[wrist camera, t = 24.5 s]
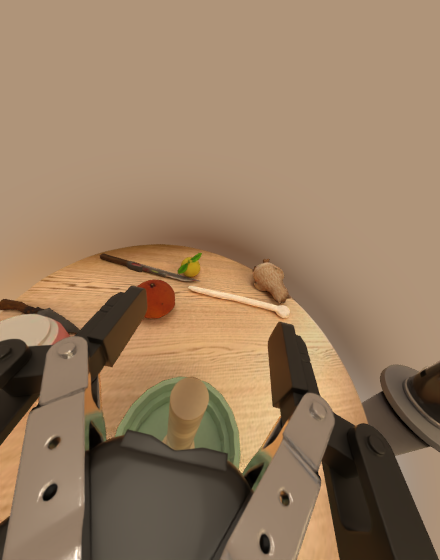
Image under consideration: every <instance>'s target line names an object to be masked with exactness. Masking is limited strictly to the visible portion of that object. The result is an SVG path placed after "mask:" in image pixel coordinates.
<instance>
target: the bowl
mask: <svg viewBox="0 0 440 560" xmlns="http://www.w3.org/2000/svg"><path fill="white" fill-rule="evenodd" d="M184 378H187V377H176V378H172V379H168V380H164V381H162V382H160V383H158V384H157V385H155V386H153V387H151V388H150V389H148V390H147V391H146V392H145V393H144V394H143V395H142V396H140V397H139V398H138V399H137V400H136V401H135V402H134V403H133V404H132V406H131V407H130V409H129V410H128V412H127V413H126V415H125V417H124V418H123V420H122V421H121V423H120V425H119V427H118V429H117V432H116V435H115V437H117V436H122V435H125V433H126V431H127V429H129V430H133V431H137V432H141V433H145V434H150V435H153V436H154V437H156V438H157V439H159V440H160V441H163V439H164V438H165V436H166V435H167V431H168V417H169V404H170V395H171V391H172V389H173V387H174V386H175V385H176V384H177V383H178V382H179V381H180V380H182V379H184ZM201 381H202V380H201ZM202 382H203V383H204V384H205V386H206V387H207V390H208V393H209V402H208V405H207V408H206V411H205V413H204V415H203V418H202V420H201V423H200V425H199V428H198V430H197V433H196V435H195V437H194V445H195V448H202V447H203V448H208V449H212V450H216V451H220V452H224V453H228V458H227V460H228V461H230V462H231V463H232V464H233V465H234V466H236V467H237V469H238V470H239V463H240V442H239V430H238V427H237V424H236V421H235V418H234V415H233V412H232V410H231V408H230V407H229V405H228V403H227V402H226V400H225V399H224V397H223V396H222V394H220V393H219V392H218V391H217V390H216V389H215V388H214V387H212V386H211V385H210V384H209V383H206V382H204V381H202Z"/></svg>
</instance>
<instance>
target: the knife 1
mask: <svg viewBox="0 0 440 560" xmlns="http://www.w3.org/2000/svg"><path fill="white" fill-rule="evenodd" d="M6 309H16V310H19V311H21V312H24V313H25V314H37V315H41V316H44V317H48V318H51V319H53V320H56V321H58V322H59V323H61V324H62V326H63V327H64V328H65V330H66V331H67V332H74V333H78V332H79V331H80V330H79V329H78V328H77V327H76V326H75V325H74V324H72V323H71V322H70V321H69V320H66V319H65V318H64V317H62V316H61V315H59V314H57V313H56V312H54V311H53V310H51V309H50V308H48V309H41V308H39V307H37V308H34V307H31V306H28V305H26V304H24V303H22V302H18V301H13V300H7V299H3V300H1V301H0V310H6Z"/></svg>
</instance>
